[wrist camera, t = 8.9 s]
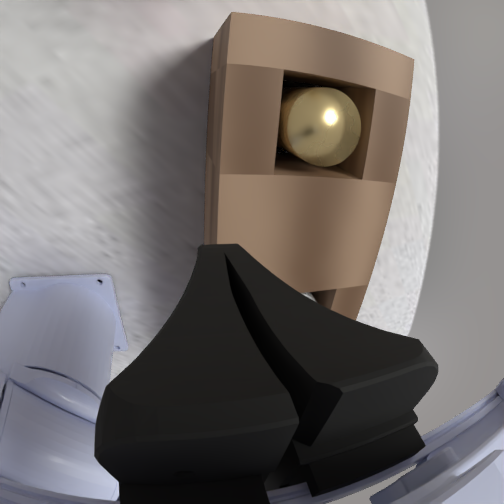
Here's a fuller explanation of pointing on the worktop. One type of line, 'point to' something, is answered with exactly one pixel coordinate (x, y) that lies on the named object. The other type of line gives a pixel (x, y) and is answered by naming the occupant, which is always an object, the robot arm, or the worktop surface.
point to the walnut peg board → (294, 168)
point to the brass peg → (318, 125)
